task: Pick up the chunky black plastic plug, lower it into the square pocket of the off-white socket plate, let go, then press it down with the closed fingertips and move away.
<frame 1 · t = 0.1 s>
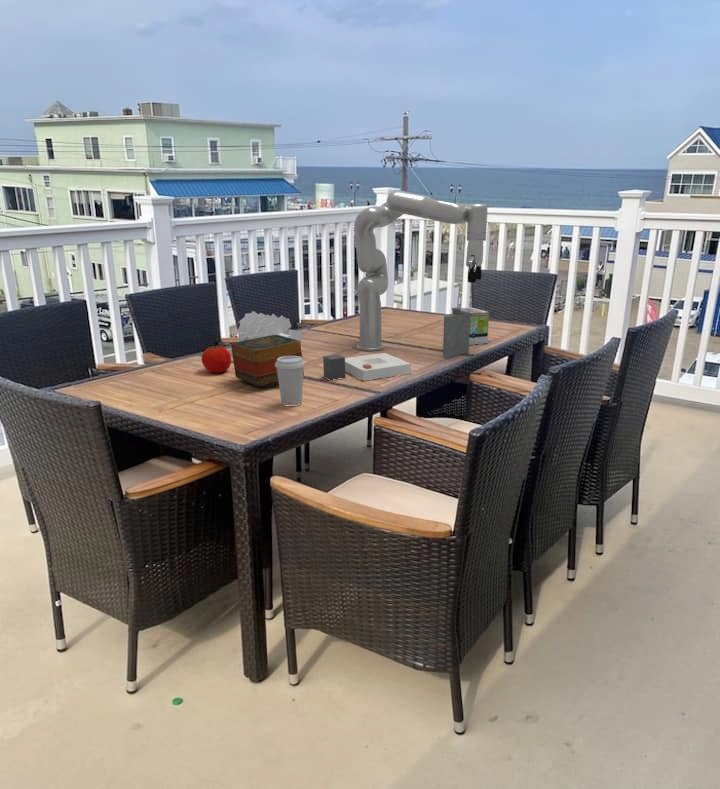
hand: (474, 280, 244), 31 cm above the table, tool pointing down, fingers open, 9 cm apart
socket: (374, 371, 233), on the table
decorative box: (269, 382, 222), on the table
coffee cup: (291, 404, 197), on the table
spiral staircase: (270, 355, 261), on the table
plug: (334, 377, 226), on the table
tomato: (217, 372, 235), on the table
hip flask: (455, 355, 256), on the table
tea box: (469, 341, 281), on the table
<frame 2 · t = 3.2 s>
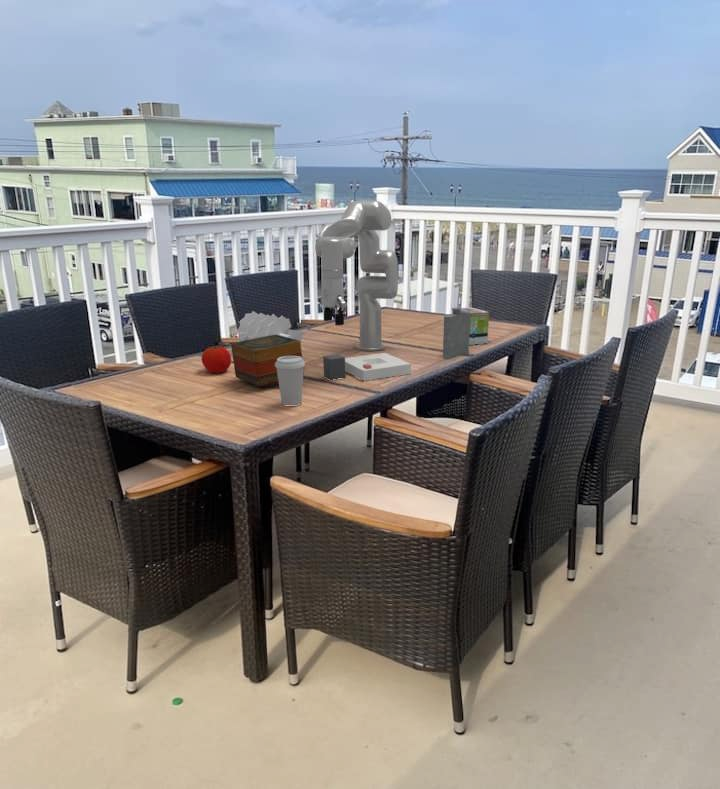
hand: (333, 322, 219), 21 cm above the table, tool pointing down, fingers open, 9 cm apart
nothing on the table moved.
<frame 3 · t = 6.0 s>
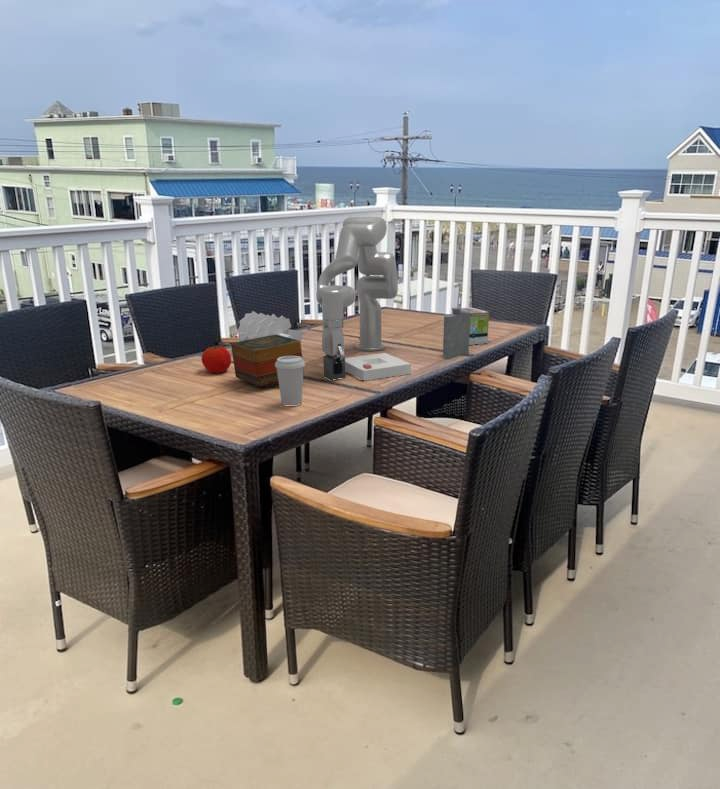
hand: (334, 371, 225), 2 cm above the table, tool pointing down, fingers closed on plug, 6 cm apart
plug: (334, 377, 226), on the table, touching gripper
everything else where it was.
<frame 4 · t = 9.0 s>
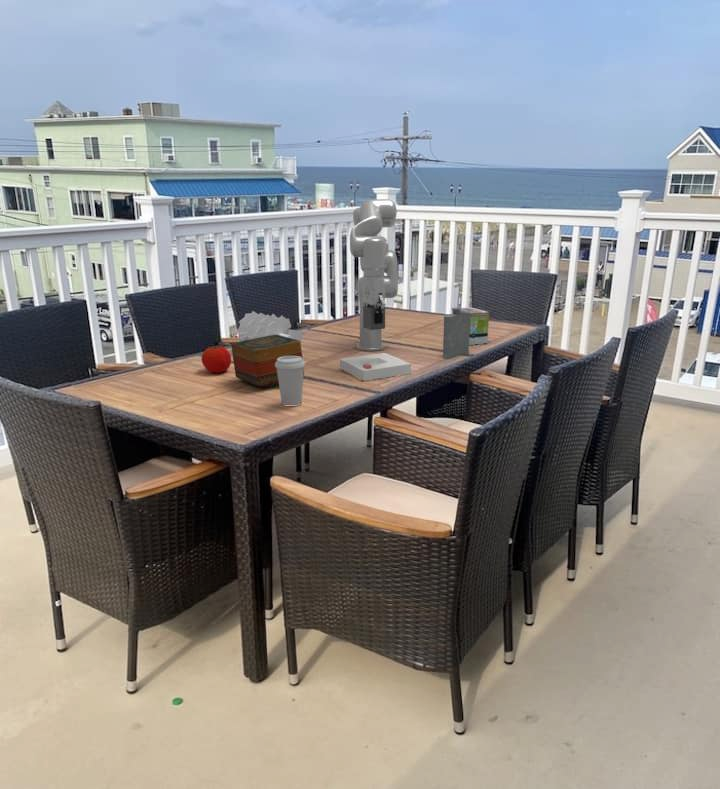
hand: (374, 321, 227), 19 cm above the table, tool pointing down, fingers closed on plug, 6 cm apart
plug: (374, 327, 228), point 17 cm above the table, touching gripper
everything else where it was.
when the fingers open (5 cm above the table, at t = 11.9 s): plug drops 1 cm, resting on socket.
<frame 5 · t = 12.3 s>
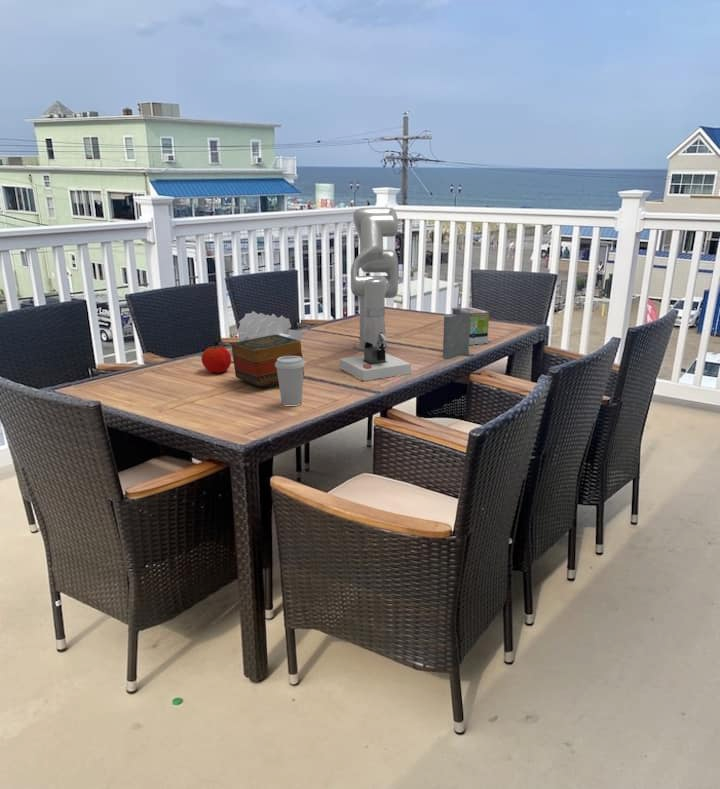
hand: (374, 357, 231), 6 cm above the table, tool pointing down, fingers open, 9 cm apart
plug: (374, 368, 233), point 1 cm above the table, touching socket
everything else where it was.
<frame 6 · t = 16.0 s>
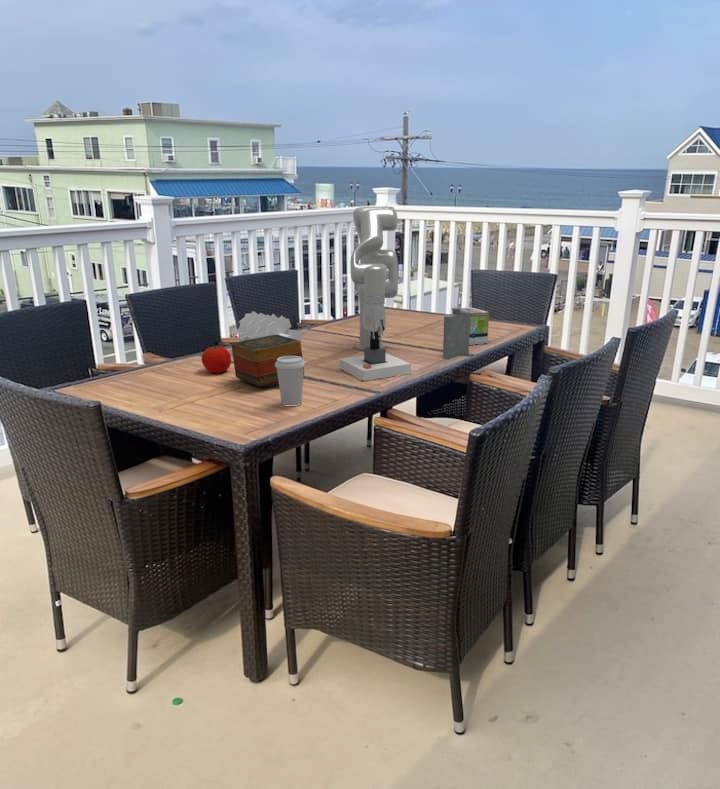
hand: (374, 348, 230), 9 cm above the table, tool pointing down, fingers closed
plug: (374, 368, 233), point 1 cm above the table, touching gripper, socket
everything else where it was.
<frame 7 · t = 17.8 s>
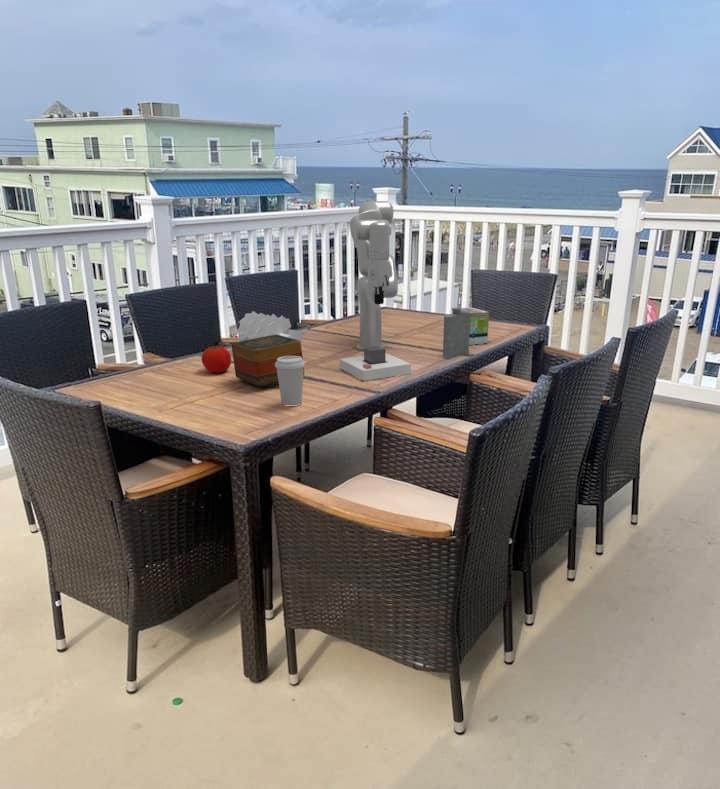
hand: (379, 303, 237), 24 cm above the table, tool pointing down, fingers closed
plug: (374, 368, 233), point 1 cm above the table, touching socket
everything else where it was.
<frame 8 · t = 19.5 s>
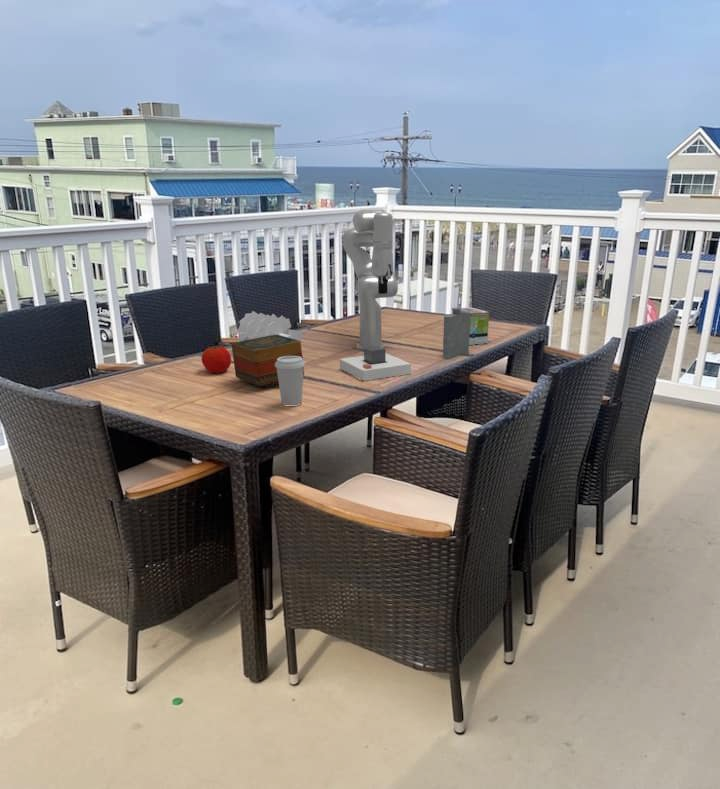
hand: (382, 293, 243), 27 cm above the table, tool pointing down, fingers closed
nothing on the table moved.
at the end: plug 0.1 cm off-centre on the socket, point 1.0 cm above the socket's base; plug tilted 0°; the gripper is holding nothing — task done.
